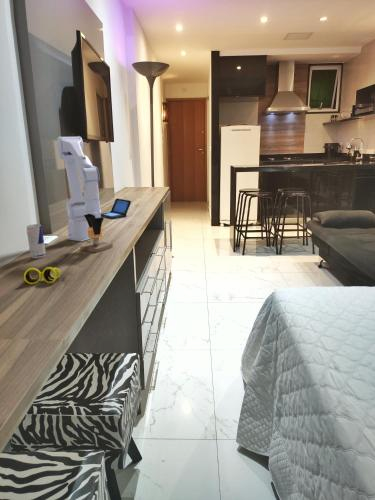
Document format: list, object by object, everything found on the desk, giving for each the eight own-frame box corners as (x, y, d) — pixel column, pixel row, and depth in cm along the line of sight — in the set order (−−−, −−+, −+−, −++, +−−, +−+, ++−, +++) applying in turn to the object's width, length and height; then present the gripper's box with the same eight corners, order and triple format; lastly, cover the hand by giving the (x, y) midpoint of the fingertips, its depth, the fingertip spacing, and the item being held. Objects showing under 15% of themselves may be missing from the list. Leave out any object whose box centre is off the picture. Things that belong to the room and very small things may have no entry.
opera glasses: (61, 280, 115) (60, 264, 115) (57, 283, 110) (55, 267, 110) (29, 282, 114) (28, 266, 114) (24, 285, 109) (22, 268, 109)
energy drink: (49, 255, 139) (44, 224, 136) (39, 259, 135) (34, 227, 131) (37, 254, 141) (33, 223, 138) (27, 258, 136) (22, 226, 133)
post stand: (80, 249, 145) (78, 234, 144) (96, 244, 153) (95, 230, 151) (96, 252, 141) (95, 237, 139) (112, 246, 148) (111, 232, 146)
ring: (85, 237, 145) (84, 228, 144) (95, 234, 149) (94, 225, 148) (95, 238, 142) (94, 229, 141) (105, 235, 146) (104, 227, 145)
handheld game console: (98, 216, 215) (97, 200, 212) (117, 213, 224) (116, 198, 221) (113, 219, 204) (112, 203, 201) (132, 216, 213) (131, 200, 210)
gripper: (77, 197, 146) (81, 230, 149) (86, 202, 133) (89, 238, 137) (94, 196, 149) (98, 228, 153) (104, 200, 136) (108, 235, 140)
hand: (95, 232), depth 145 cm, fingers closed on ring, 6 cm apart
